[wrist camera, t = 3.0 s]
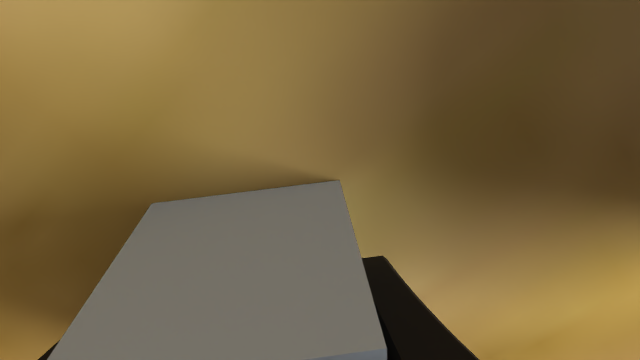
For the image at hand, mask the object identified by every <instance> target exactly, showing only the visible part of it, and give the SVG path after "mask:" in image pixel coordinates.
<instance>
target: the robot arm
mask: <svg viewBox="0 0 640 360" xmlns="http://www.w3.org/2000/svg"><path fill="white" fill-rule="evenodd" d="M362 262H363V265H364V269H365V272H366V276H367V280H368V283H369V287H370V290H371V294H372V297H373V301H374V305H375V308H376V312H377V315H378V319H379V322H380V326H381V329H382V333H383V337H384V340H385V344H386V347H387V360H479V359H478V358H477V357H476V356H475V355H474V354H473V353H472V352H471V351H470V350H469V349H467V348H466V347H465V346H464V345H463V344H462V343H461V342H460V341H459V340H458V339H457V338H456V337H455V336H454V335H453V334H452V333H451V332H450V331H449V330H448V329H447V328H446V327H445V326H444V325H443V324H442V323H441V322H440V321H439V320H438V318H437V317H436V316H435V315H434V314H433V313H432V312H431V311H430V310H429V309H428V308H427V307H426V306H425V305H424V304H423V302H422V301H421V300H420V299H419V298H418V297H417V296H416V295H415V293H414V292H413V291H412V290H411V289H410V288H409V286H408V285H407V284H406V283H405V282H404V280H403V279H402V278H401V277H400V276H399V274H398V273H397V272H396V270H395V269H394V268H393V267H392V265H391V264H390V263H389V261H388V260H387V259H386V258H385V257H383V256H376V257H369V258H362ZM60 340H61V339H60ZM60 340H59V341H60ZM59 341H58V342H57V343H56V344H55V345H54V346H53V347H51V348H50V349H49V350H48V351H47V352H46V353H45V354H44V355H43V356H41V357H40V358H39V359H38V360H47V359H48V357H49V356H50V354H51V353H52V352H53V350H54V349H55V347H56V346H57V344H58V343H59Z"/></svg>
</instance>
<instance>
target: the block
mask: <svg viewBox="0 0 640 360" xmlns="http://www.w3.org/2000/svg"><path fill="white" fill-rule="evenodd" d="M47 360H387V347H386V344H385V340H384V337H383V333H382V329H381V326H380V322H379V319H378V315H377V312H376V308H375V305H374V301H373V297H372V294H371V290H370V287H369V283H368V280H367V276H366V272H365V269H364V265H363V262H362V258H361V255H360V251H359V248H358V244H357V240H356V237H355V233H354V230H353V226H352V223H351V219H350V216H349V212H348V208H347V205H346V201H345V198H344V194H343V191H342V187H341V184H340V180H337V181H328V182H320V183H312V184H304V185H296V186H288V187H280V188H272V189H264V190H256V191H248V192H240V193H231V194H223V195H215V196H207V197H199V198H191V199H183V200H175V201H167V202H159V203H152V204H151V205H150V207H149V208H148V210H147V211H146V213H145V214H144V216H143V217H142V219H141V220H140V222H139V223H138V225H137V226H136V228H135V229H134V231H133V232H132V234H131V235H130V237H129V238H128V240H127V241H126V243H125V244H124V246H123V247H122V249H121V250H120V252H119V253H118V255H117V256H116V258H115V259H114V261H113V262H112V264H111V265H110V267H109V268H108V270H107V271H106V272H105V274H104V275H103V277H102V278H101V280H100V281H99V283H98V284H97V286H96V287H95V289H94V290H93V292H92V293H91V295H90V296H89V298H88V299H87V301H86V302H85V304H84V305H83V307H82V308H81V310H80V311H79V313H78V314H77V316H76V317H75V319H74V320H73V322H72V323H71V325H70V326H69V328H68V329H67V331H66V332H65V334H64V335H63V337H62V338H61V340H60V341H59V343H58V344H57V346H56V347H55V349H54V350H53V352H52V353H51V354H50V356H49V357H48V359H47Z"/></svg>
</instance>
